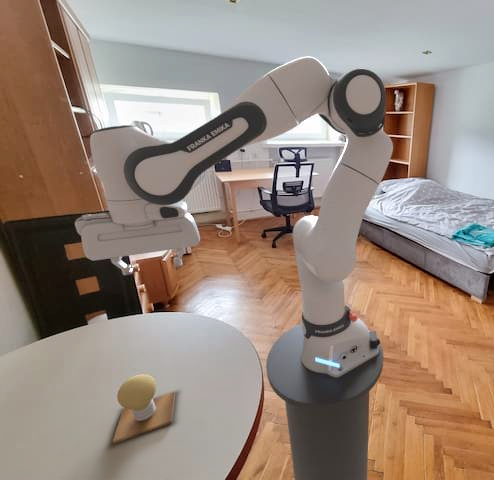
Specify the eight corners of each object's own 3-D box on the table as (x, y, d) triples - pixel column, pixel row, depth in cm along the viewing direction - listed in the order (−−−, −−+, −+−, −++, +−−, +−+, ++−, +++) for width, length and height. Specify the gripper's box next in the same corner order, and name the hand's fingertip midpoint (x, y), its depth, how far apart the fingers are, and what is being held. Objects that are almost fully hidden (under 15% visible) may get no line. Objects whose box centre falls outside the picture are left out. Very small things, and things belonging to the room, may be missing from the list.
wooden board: (175, 393, 68) (175, 391, 67) (171, 422, 61) (171, 420, 61) (123, 410, 64) (122, 408, 63) (113, 443, 57) (112, 441, 57)
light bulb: (121, 432, 58) (106, 396, 55) (136, 404, 64) (123, 370, 61) (156, 425, 60) (143, 390, 56) (168, 399, 66) (157, 365, 62)
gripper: (64, 220, 52) (89, 286, 57) (191, 208, 61) (204, 266, 66) (77, 211, 57) (100, 272, 62) (193, 201, 66) (204, 256, 71)
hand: (154, 269), depth 64 cm, fingers open, 8 cm apart
